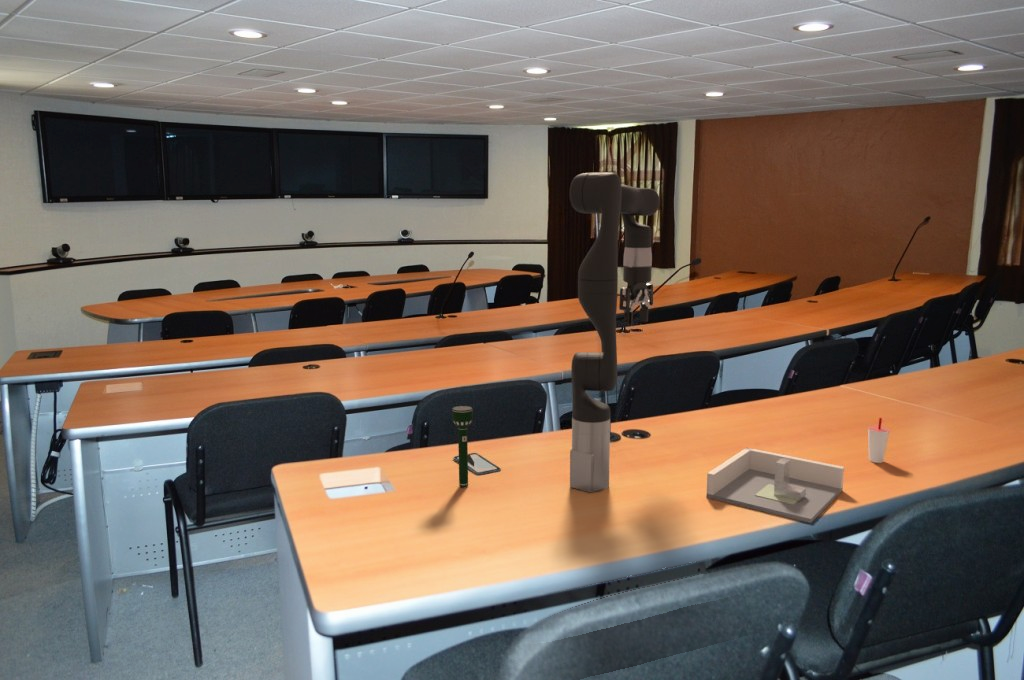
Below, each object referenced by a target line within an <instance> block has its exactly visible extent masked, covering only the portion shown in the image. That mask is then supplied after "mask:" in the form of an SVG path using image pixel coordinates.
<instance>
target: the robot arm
mask: <svg viewBox="0 0 1024 680" xmlns="http://www.w3.org/2000/svg"><path fill="white" fill-rule="evenodd" d="M569 200H570V204H571V207H572V208H573V209H574V210H575V211H576V212H578V213H581V214H599V215H600V214H601V219H600V220H601V221H600V226H599V232H598V234H597V236H596V238H595V241H594V242H593V244H592V246H591V247H590V249H589V251H588V252H587V254H586V256H585V257H584V259H582V262H581V264H580V266H579V268H578V272H577V273H578V275H577V278H578V279H577V299H578V301H579V304H580V306H581V308H582V310H583V311H584V313H585V314H586V315H587V317H588V319H589V320H590V322H591V323H592V325H593V326H594V328H595V330H596V332H597V334H598V337H599V338H600V341H601V346H602V348H603V352H590V351H589V352H587V351H581V352H575V354H574V355H573V356H572V359H571V385H572V386H571V387H572V388H571V389H572V391H571V393H572V402H571V403H572V407H571V408H572V410H571V411H572V412H571V413H572V414H571V449H570V451H569V487H570V488H571V489H572V488H573V489H576V490H580V491H583V492H588V493H592V492H599V491H604V490H606V489H608V488H609V486H610V457H611V455H610V451H611V449H610V448H611V445H610V442H611V408H610V406H609V405H608V404H606V403H604V402H602V401H599V400H597V399H595V398H593V397H592V396H591V395H590V394H588V392H587V391H589V392H590V391H591V392H592V391H593V392H594V391H595V392H612V391H614V390H615V388H616V385H617V381H618V353H617V347H618V346H617V312H618V311H617V309H618V308H619V310H620V311H622V312H623V313H624V314H623V318H624V319H623V320H624V321H623V324H624V326H626V327H631V326H633V324H634V323H633V320H634V319H633V318H634V317H633V316H634V313H633V311H634V308H635V306H637V305H639V321H640V322H643V323H647V322H648V321H649V309H650V308H651V306H653V305H654V284H653V283H650V282H652V266H653V265H652V263H653V253H652V234H653V233H652V232H653V231H652V228H651V226H650V225H648V224H647V225H646V224H643V223H639V222H638V221H637V219H636V217H635V216H637V217H638V216H640V217H641V216H642V217H646V216H647V217H648V216H649V217H650V216H653V215H654V214H656V213H657V212H658V210H659V209H660V208H659V207H660V205H661V199H660V196H659V193H658V192H657V191H656V190H655V189H653V188H647V187H634V186H631V185H628V184H627V185H626V184H622V182H621V178H620V176H619V175H618V174H617V173H616V172H585V173H584V172H583V173H580V174H577V175H576V176H574V177H573V179H572V181H571V183H570V186H569ZM620 218H622V222H623V229H624V252H623V265H622V266H623V267H622V268H623V273H622V274H623V275H622V276H623V277H622V280H623V282H625V283H627V284H626V287H620V289H618V288H619V287H618V283H619V282H618V281H619V280H618V278H619V274H618V271H619V269H618V267H619V266H618V258H619V257H618V252H619V251H618V248H619V243H618V242H619V232H620V231H619V230H620ZM618 290H619V305H618ZM618 306H619V307H618Z"/></svg>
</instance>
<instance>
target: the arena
mask: <svg viewBox="0 0 1024 680" xmlns="http://www.w3.org/2000/svg"><path fill="white" fill-rule="evenodd" d="M781 458H784V459H789V460H790V472H789V484H791V485H795V486H800V487H804V488H806V496H805V497H804V498H803V499H802V500H801V501H796V500H792V499H788V498H784V497H779V496H775V495H774V483H775V466H776V462H777V461H778V460H780V459H781ZM844 472H845V466H841V465H836V464H832V463H827V462H823V461H822V462H821V461H816V460H810V459H805V458H801V457H795V456H792V455H785V454H780V453H775V452H770V451H767V450H766V451H764V450H761V449H755V448H750V447H746V448H745V447H744V449H742V450H740V451H739V452H738V453H736V454H735V455H733V456H731V457H729V458H728V459H727V460H725V461H724V462H722V463H721V464H719V465H718V466H716V467H714V468H713V469H712V470H710V471H708V472H707V476H706V477H707V478H706V498H707V499H710V500H715V501H719V502H724V503H727V504H730V505H736V506H739V507H744V508H747V509H751V510H756V511H759V512H764V513H767V514H771V515H776V516H779V517H783V518H787V519H792V520H796V521H800V522H804V523H807V524H812V523H813V522H814V521H815V520H816V519H817V517H818V516H820V514H822V512H823V511H824V510H825V509H826V508H828V507H829V505H830V504H831V503H832V502H833V501H834V500H835V499H836V498H837V497H838V496H839V495H840V494H841V493H842V492H843V489H844V488H843V486H844V475H845V473H844Z"/></svg>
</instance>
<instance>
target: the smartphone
mask: <svg viewBox="0 0 1024 680" xmlns="http://www.w3.org/2000/svg"><path fill="white" fill-rule="evenodd" d="M453 460H455V461H454V462H456V463H457V462H458V463H457V464H459V455H455V456H453ZM501 470H502V468H501V467H499V466H498V465H496V464H495V463H493V462H492V461H490V460H488V459H487V458H485V457H483V455H480V454H479V453H477V452H471V453H468V471H470V472H471V473H473V474H474V475H476V476H483V475H484V476H485V475H487V474H493V473H498V472H501Z"/></svg>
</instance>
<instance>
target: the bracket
mask: <svg viewBox="0 0 1024 680" xmlns="http://www.w3.org/2000/svg"><path fill="white" fill-rule="evenodd" d="M789 472H790V460H789V459H784V458H781V459H780V460H778V461H777V462H776V466H775V483H774V495H775V496H779V497H784V498H788V499H792V500H796V501H801V500H802V499H803V498H804V497H805V496H806V488H804V487H800V486H795V485H791V484H789Z"/></svg>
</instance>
